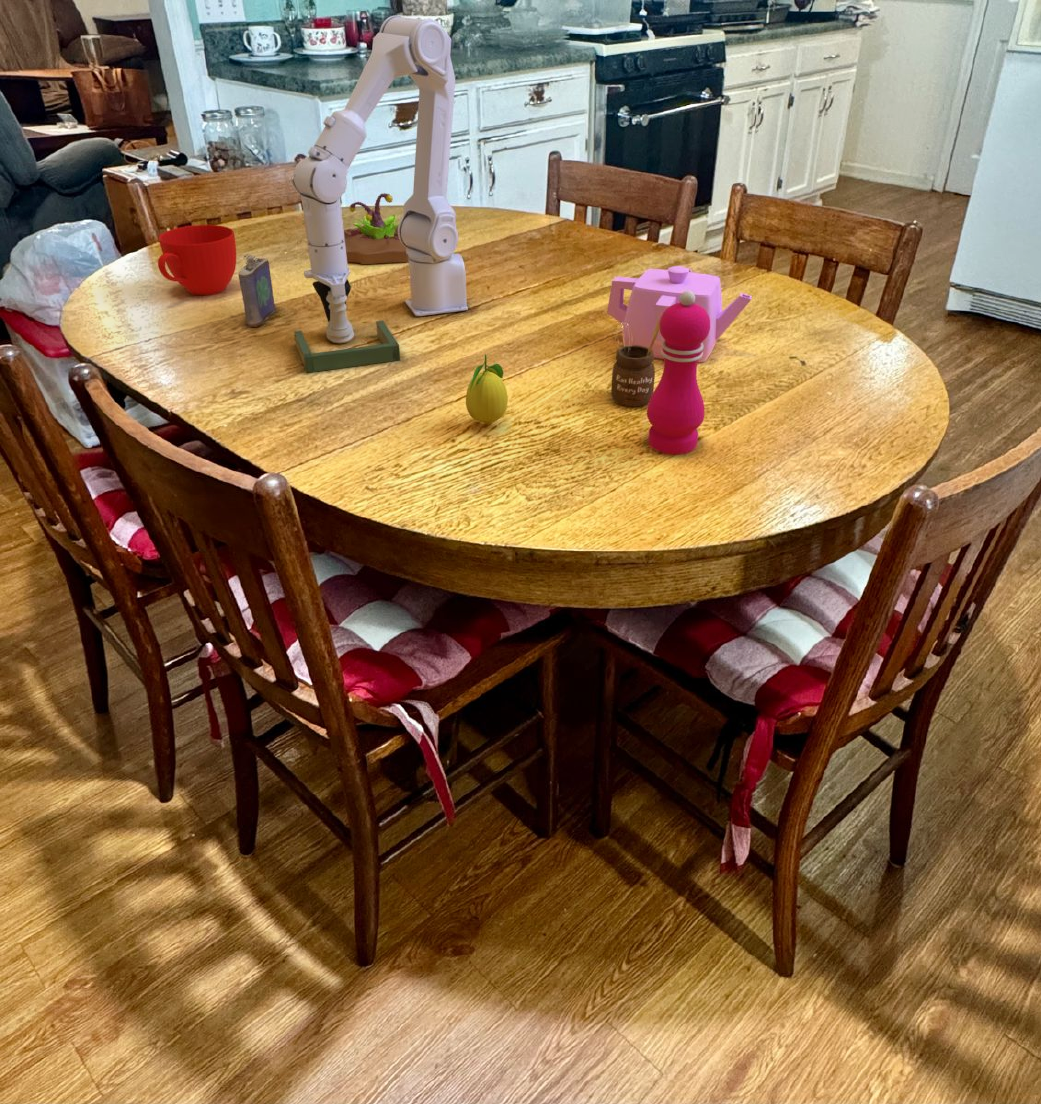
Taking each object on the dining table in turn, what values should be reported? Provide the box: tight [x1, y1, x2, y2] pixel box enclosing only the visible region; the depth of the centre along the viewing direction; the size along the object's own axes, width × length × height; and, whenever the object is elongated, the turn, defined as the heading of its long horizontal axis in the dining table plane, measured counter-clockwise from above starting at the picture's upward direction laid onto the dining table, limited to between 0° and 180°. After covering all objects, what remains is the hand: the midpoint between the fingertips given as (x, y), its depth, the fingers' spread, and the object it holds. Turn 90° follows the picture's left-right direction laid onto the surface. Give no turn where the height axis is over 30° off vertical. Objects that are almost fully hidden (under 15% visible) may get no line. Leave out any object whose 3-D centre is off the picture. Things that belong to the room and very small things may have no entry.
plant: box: [344, 192, 409, 265], centre depth 183 cm, size 20×20×11 cm
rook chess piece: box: [325, 291, 355, 345], centre depth 143 cm, size 4×4×8 cm
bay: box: [293, 320, 401, 374], centre depth 141 cm, size 14×11×2 cm
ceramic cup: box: [157, 224, 237, 296], centre depth 162 cm, size 13×17×10 cm
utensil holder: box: [610, 315, 662, 407], centre depth 124 cm, size 6×6×12 cm
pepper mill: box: [646, 291, 710, 455], centre depth 111 cm, size 7×7×20 cm
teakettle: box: [606, 265, 753, 363], centre depth 140 cm, size 17×17×12 cm
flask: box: [238, 253, 277, 328], centre depth 151 cm, size 9×3×11 cm, turn 172°
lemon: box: [465, 353, 509, 426], centre depth 118 cm, size 7×6×10 cm
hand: (336, 326), depth 147 cm, fingers closed
